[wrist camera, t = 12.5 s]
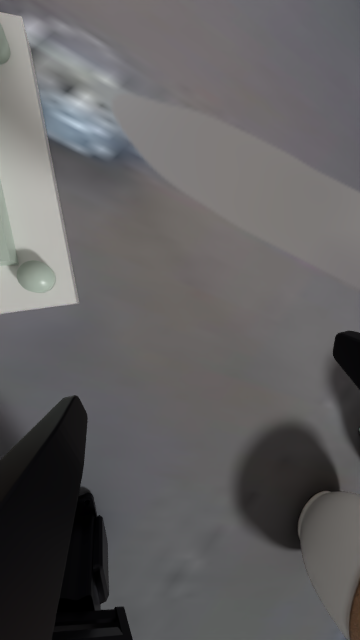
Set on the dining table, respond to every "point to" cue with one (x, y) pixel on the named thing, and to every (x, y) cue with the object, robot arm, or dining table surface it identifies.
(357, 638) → the lidded bowl
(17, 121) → the base plate
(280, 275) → the dining table surface
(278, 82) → the dining table surface
